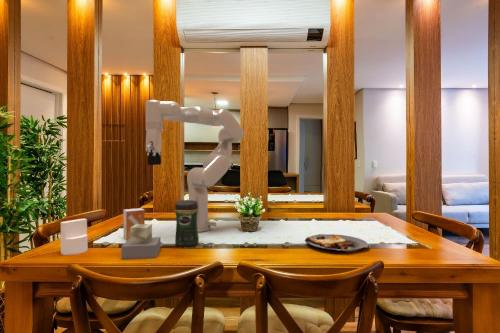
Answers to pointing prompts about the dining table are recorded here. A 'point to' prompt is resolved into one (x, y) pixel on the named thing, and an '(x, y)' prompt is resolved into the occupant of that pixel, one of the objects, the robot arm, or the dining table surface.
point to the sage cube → (141, 233)
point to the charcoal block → (141, 249)
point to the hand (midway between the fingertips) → (154, 164)
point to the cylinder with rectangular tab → (74, 237)
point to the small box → (132, 219)
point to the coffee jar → (186, 223)
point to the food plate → (336, 242)
